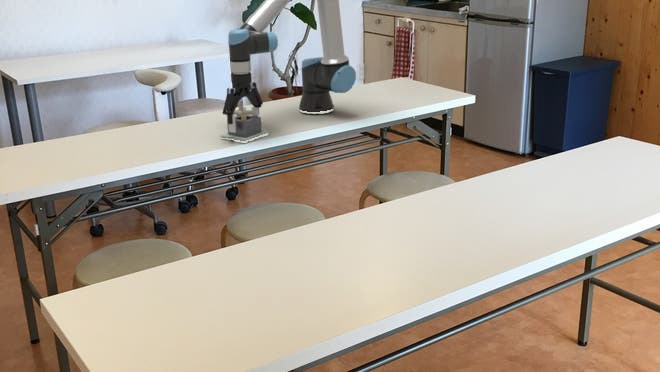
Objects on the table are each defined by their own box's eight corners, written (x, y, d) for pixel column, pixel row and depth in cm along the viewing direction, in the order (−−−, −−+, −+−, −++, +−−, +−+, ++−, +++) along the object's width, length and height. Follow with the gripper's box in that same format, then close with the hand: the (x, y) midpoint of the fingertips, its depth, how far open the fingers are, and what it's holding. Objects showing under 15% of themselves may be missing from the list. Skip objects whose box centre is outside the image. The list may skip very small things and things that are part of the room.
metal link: (243, 129, 275) (243, 114, 273) (261, 132, 270) (260, 117, 268) (228, 134, 268) (227, 119, 266) (246, 137, 264) (245, 122, 262)
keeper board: (245, 130, 279) (243, 108, 276) (268, 135, 272) (267, 112, 269) (220, 139, 268) (219, 116, 265) (244, 143, 261) (243, 120, 258)
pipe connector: (256, 121, 292) (255, 97, 289) (251, 127, 283) (250, 103, 280) (232, 121, 293) (231, 97, 290) (227, 127, 284) (225, 103, 281)
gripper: (255, 66, 273) (258, 119, 280) (210, 76, 254) (214, 134, 261) (270, 67, 269) (272, 122, 276) (225, 78, 250) (229, 136, 257)
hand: (244, 128), depth 269 cm, fingers open, 13 cm apart
